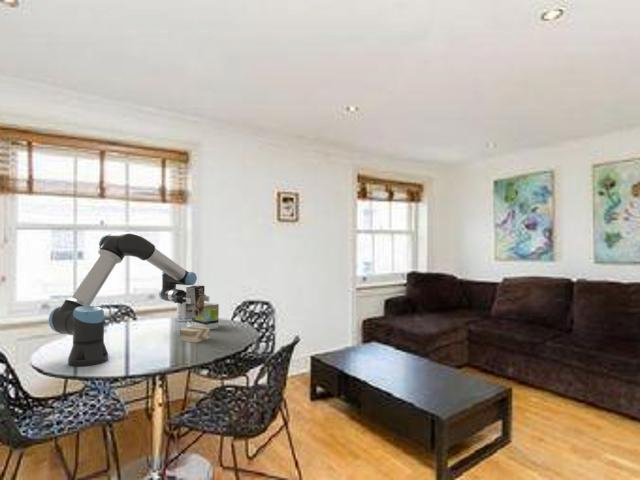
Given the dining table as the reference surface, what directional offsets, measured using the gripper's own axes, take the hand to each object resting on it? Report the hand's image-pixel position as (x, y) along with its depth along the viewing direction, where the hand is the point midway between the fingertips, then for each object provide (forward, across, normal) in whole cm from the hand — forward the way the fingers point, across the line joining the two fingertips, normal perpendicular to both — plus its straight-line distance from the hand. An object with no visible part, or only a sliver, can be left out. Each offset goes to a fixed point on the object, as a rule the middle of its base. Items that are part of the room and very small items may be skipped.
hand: (199, 300), depth 214 cm
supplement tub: (-53, -23, -22) cm, 62 cm away
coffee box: (-4, 0, -9) cm, 10 cm away
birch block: (-4, 0, -22) cm, 22 cm away
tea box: (-25, -20, -22) cm, 39 cm away
